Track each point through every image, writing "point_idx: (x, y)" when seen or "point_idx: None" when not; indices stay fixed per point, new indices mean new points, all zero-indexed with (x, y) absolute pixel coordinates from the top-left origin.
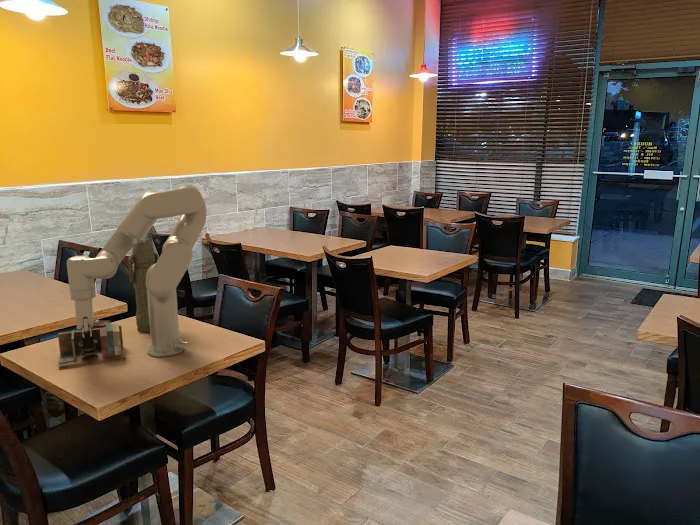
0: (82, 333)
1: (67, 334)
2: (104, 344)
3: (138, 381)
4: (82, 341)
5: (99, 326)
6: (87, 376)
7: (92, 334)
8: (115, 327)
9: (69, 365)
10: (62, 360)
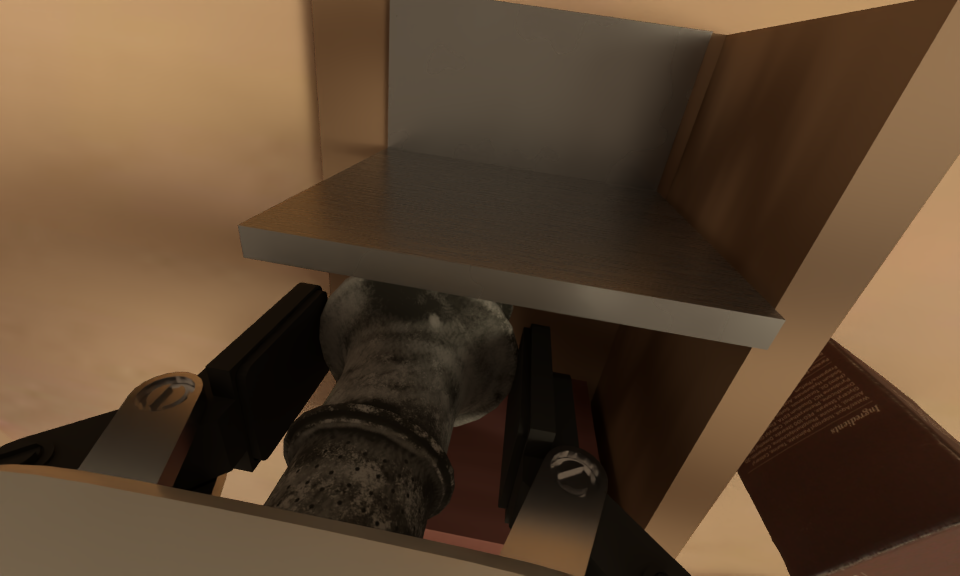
0: (103, 435)
1: (815, 202)
2: None
3: (30, 390)
4: (392, 324)
5: (835, 555)
6: (120, 191)
7: (502, 461)
8: None
9: (319, 92)
10: (450, 34)
